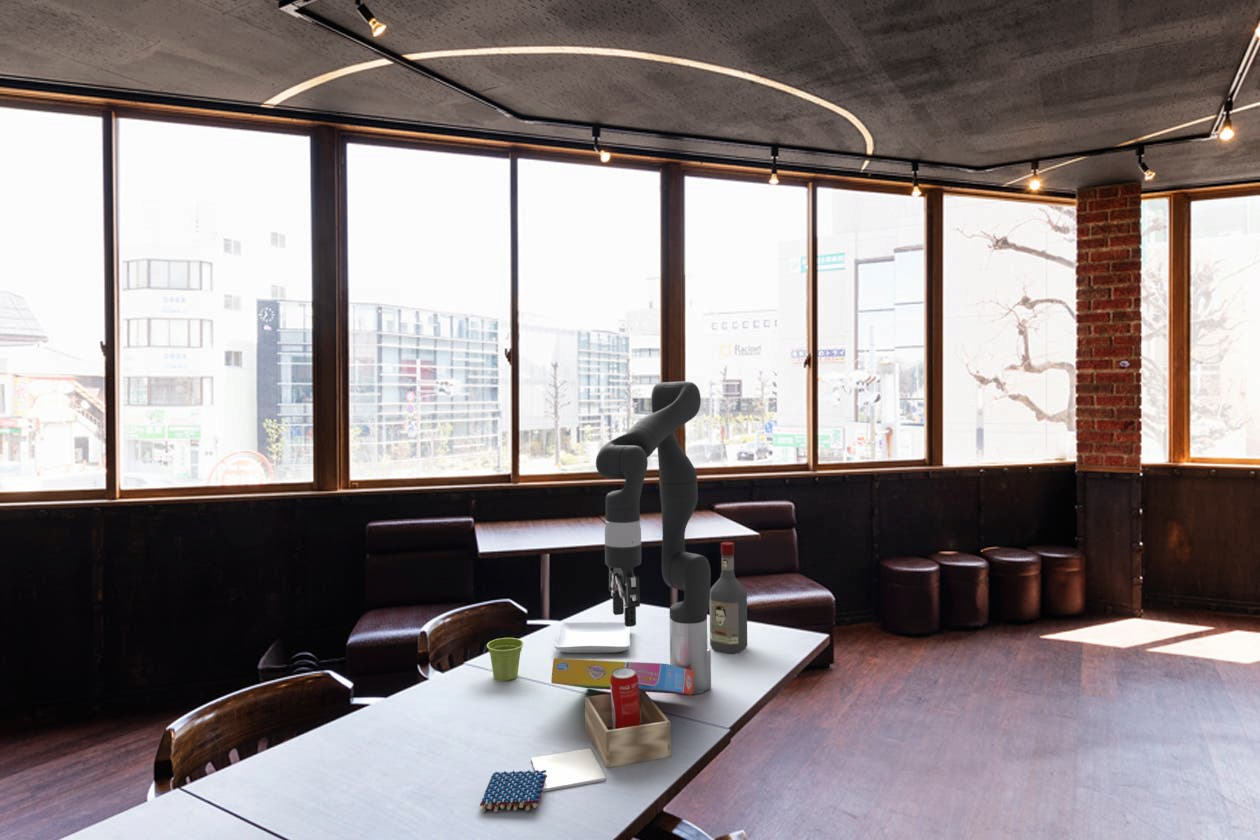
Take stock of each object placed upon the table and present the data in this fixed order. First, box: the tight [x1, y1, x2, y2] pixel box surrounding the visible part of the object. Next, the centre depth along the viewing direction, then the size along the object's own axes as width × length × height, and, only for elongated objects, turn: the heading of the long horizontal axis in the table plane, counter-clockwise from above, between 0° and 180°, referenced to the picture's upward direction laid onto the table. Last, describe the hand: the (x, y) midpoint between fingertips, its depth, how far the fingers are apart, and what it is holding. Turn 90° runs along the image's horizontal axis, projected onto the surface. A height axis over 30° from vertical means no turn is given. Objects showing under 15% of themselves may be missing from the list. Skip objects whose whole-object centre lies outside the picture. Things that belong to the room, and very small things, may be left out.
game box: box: [551, 657, 694, 696], centre depth 165 cm, size 21×6×27 cm
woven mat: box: [479, 769, 547, 814], centre depth 129 cm, size 10×11×2 cm
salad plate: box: [553, 621, 632, 654], centre depth 210 cm, size 21×21×3 cm
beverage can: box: [610, 667, 641, 730], centre depth 149 cm, size 6×6×15 cm
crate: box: [584, 689, 671, 769], centre depth 149 cm, size 13×17×7 cm
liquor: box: [709, 541, 748, 655], centre depth 204 cm, size 9×9×30 cm
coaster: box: [530, 748, 607, 793], centre depth 138 cm, size 12×12×1 cm
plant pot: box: [486, 637, 524, 682], centre depth 185 cm, size 9×9×9 cm
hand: (624, 619), depth 148 cm, fingers open, 8 cm apart
